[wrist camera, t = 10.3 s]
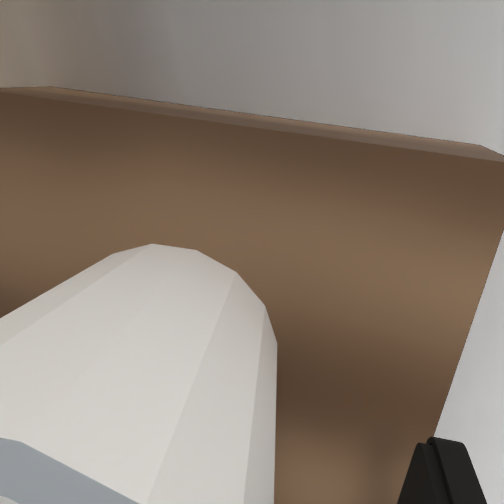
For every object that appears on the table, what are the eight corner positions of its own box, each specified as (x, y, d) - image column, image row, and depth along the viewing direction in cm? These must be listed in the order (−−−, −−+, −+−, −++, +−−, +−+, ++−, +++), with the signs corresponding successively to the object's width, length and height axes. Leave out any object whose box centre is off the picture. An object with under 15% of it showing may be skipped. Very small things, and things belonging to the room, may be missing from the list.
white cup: (197, 485, 14) (80, 851, 7) (7, 345, 13) (-316, 614, 6) (360, 342, 11) (404, 707, 5) (136, 159, 10) (-180, 291, 4)
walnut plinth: (49, 86, 13) (-25, 88, 10) (479, 144, 12) (525, 164, 9) (64, 416, 18) (14, 479, 15) (379, 482, 16) (389, 564, 14)
